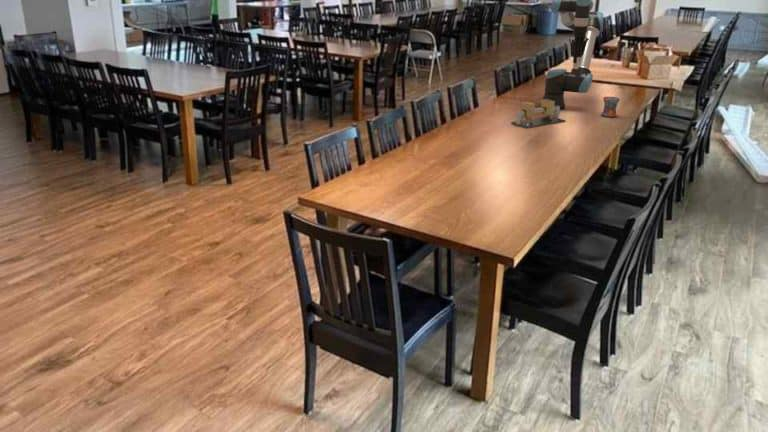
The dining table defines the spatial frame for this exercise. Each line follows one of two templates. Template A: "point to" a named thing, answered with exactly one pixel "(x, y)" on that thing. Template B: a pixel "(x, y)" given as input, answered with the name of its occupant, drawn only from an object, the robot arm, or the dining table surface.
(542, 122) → the hole plate
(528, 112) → the dividers bar
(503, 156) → the dining table surface
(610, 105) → the mug
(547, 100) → the block
